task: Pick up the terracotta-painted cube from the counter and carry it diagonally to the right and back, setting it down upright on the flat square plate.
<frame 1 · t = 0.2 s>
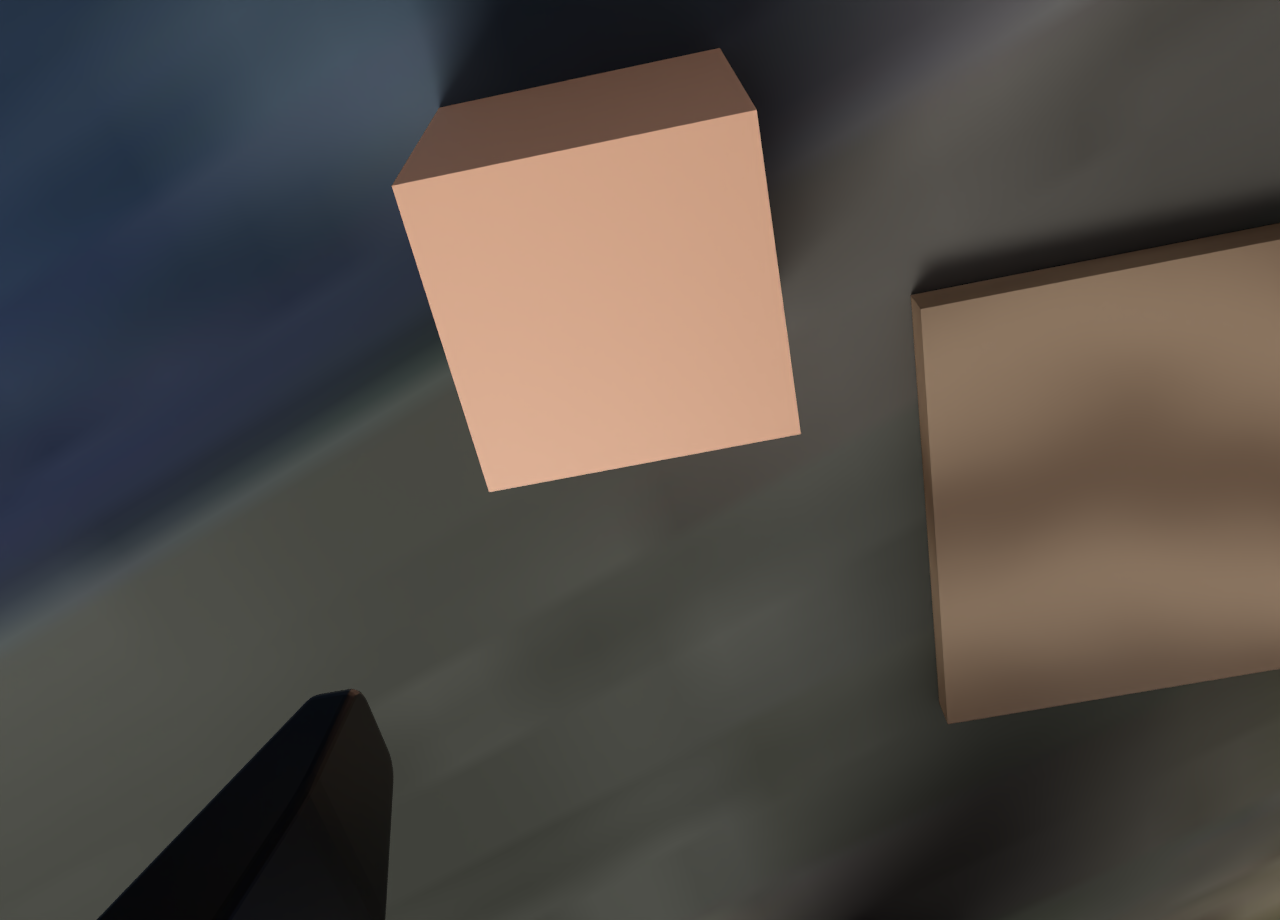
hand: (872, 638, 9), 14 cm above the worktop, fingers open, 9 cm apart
flat square plate: (1177, 477, 25), on the worktop
terracotta cube: (608, 214, 22), on the worktop
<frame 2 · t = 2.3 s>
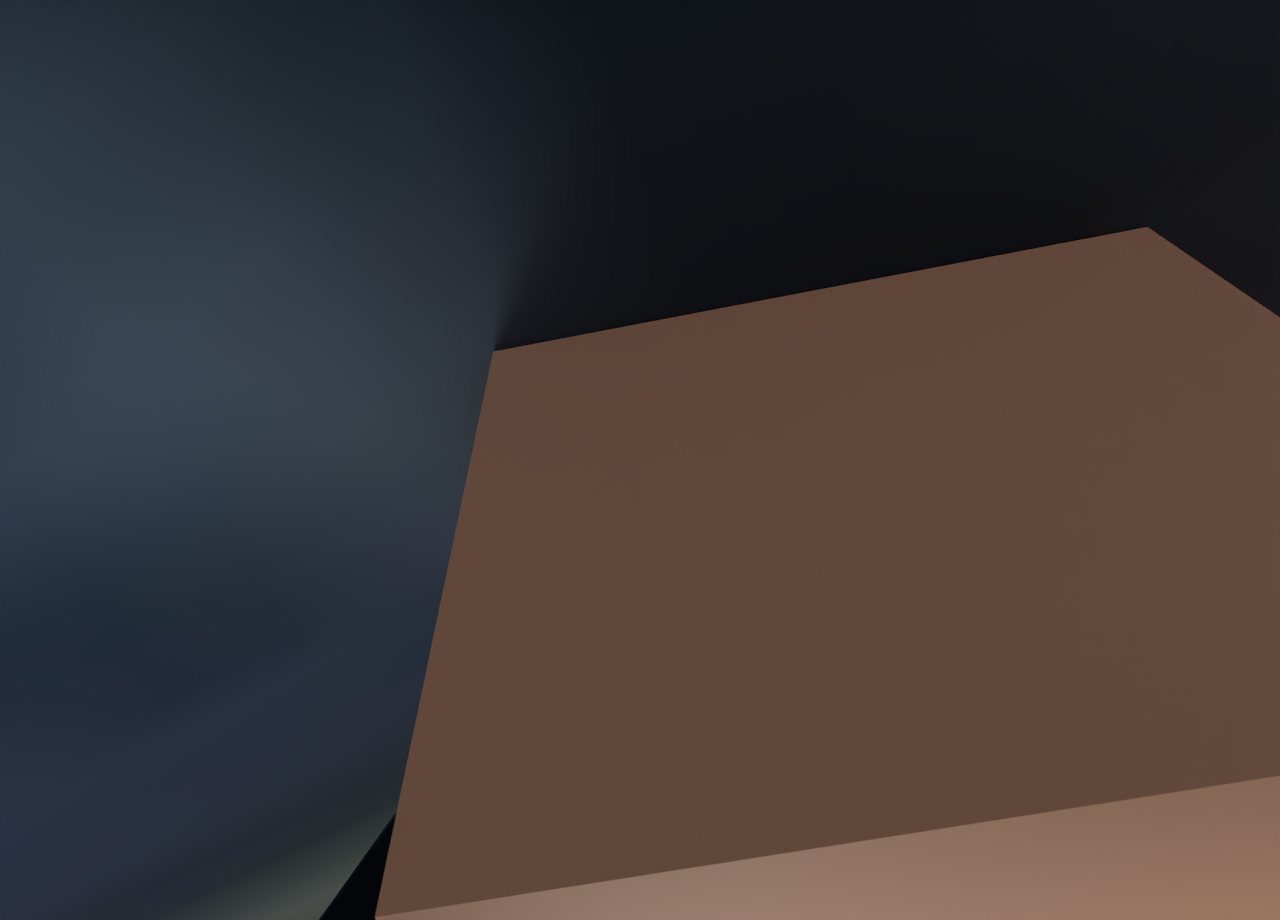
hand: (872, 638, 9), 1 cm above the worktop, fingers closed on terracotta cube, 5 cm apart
terracotta cube: (843, 554, 10), on the worktop, touching gripper
when the fingers open (3 cm above the worktop, at t = 6.2 s): terracotta cube drops 1 cm, resting on flat square plate.
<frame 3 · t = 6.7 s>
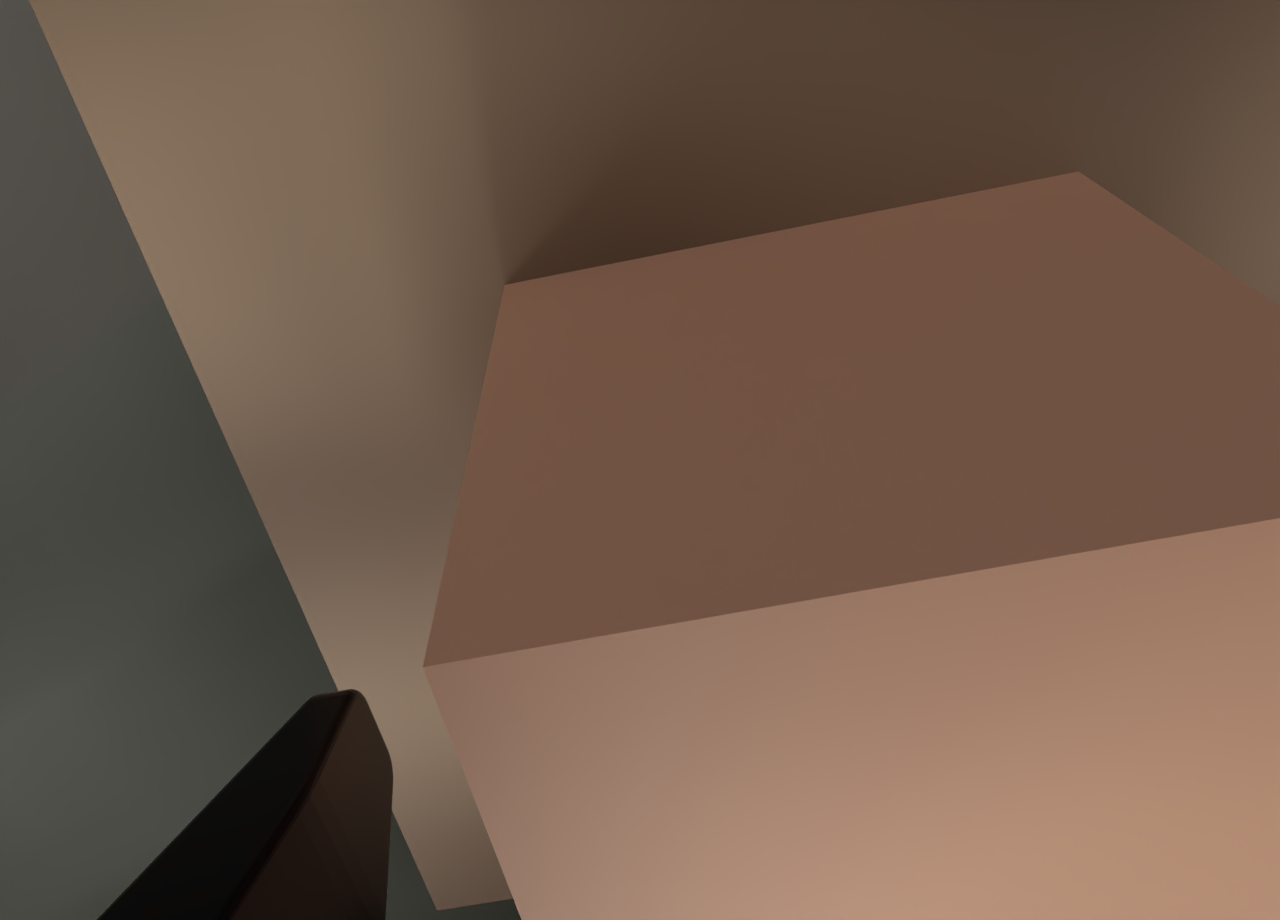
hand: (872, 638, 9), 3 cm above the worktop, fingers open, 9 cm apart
flat square plate: (805, 438, 12), on the worktop
terracotta cube: (817, 472, 11), point 1 cm above the worktop, touching flat square plate
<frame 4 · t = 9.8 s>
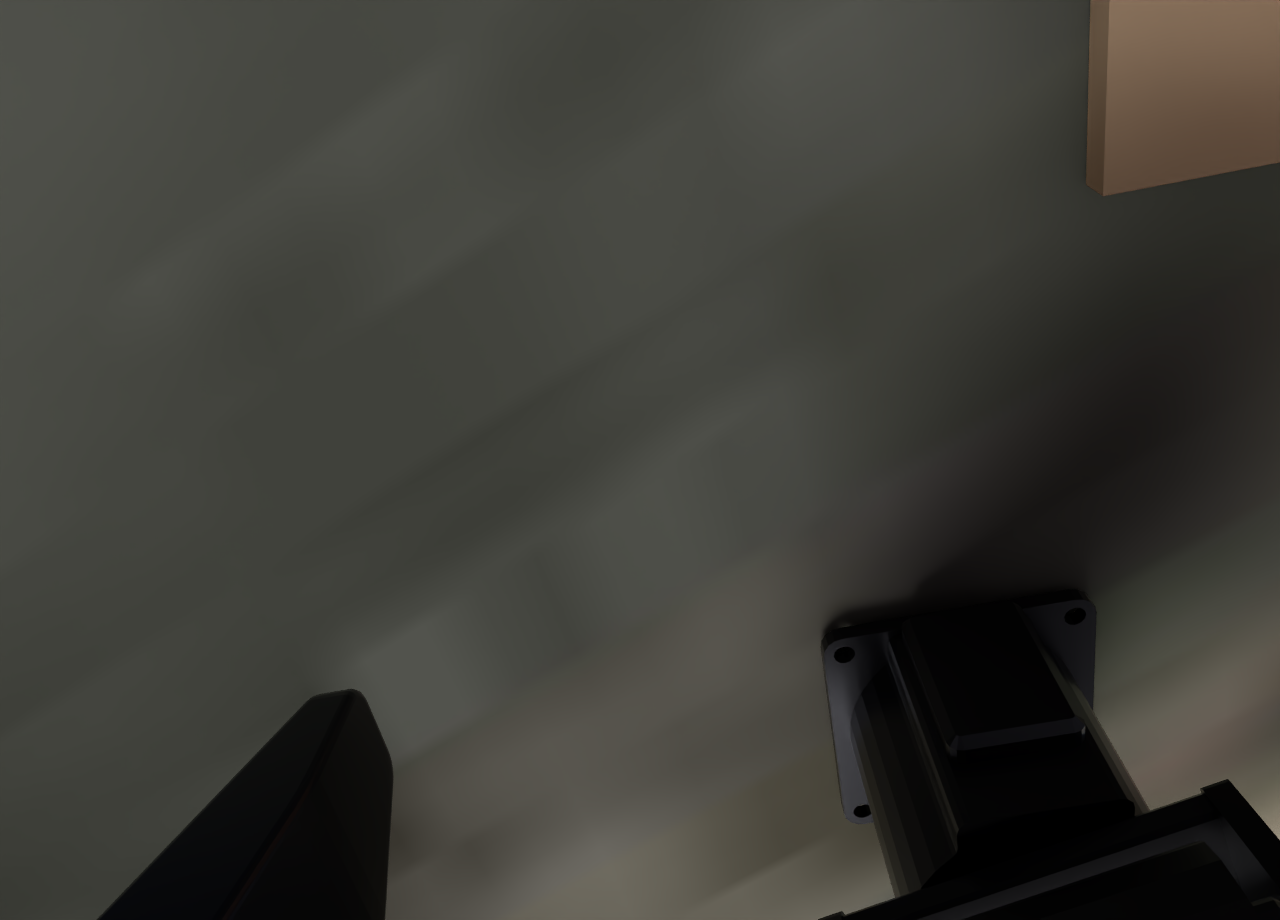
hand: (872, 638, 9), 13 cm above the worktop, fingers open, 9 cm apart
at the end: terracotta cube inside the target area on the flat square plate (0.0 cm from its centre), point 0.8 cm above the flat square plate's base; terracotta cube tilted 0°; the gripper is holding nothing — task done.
